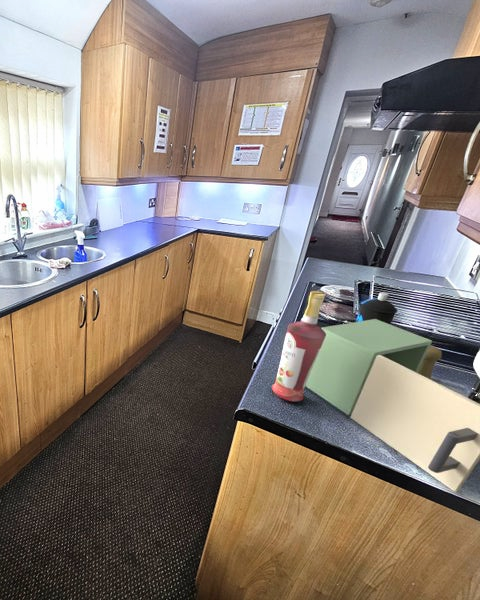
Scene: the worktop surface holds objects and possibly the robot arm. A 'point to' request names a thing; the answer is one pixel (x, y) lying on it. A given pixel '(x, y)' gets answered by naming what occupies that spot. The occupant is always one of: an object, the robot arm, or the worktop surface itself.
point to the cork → (429, 361)
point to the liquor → (300, 352)
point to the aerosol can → (377, 309)
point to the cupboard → (360, 358)
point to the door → (421, 421)
